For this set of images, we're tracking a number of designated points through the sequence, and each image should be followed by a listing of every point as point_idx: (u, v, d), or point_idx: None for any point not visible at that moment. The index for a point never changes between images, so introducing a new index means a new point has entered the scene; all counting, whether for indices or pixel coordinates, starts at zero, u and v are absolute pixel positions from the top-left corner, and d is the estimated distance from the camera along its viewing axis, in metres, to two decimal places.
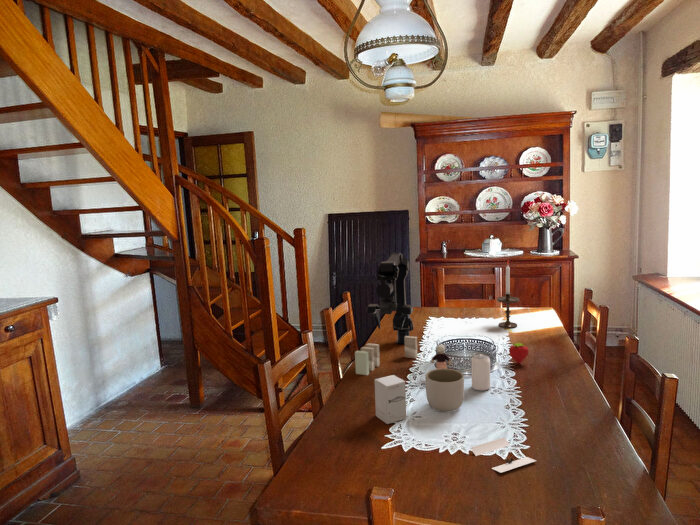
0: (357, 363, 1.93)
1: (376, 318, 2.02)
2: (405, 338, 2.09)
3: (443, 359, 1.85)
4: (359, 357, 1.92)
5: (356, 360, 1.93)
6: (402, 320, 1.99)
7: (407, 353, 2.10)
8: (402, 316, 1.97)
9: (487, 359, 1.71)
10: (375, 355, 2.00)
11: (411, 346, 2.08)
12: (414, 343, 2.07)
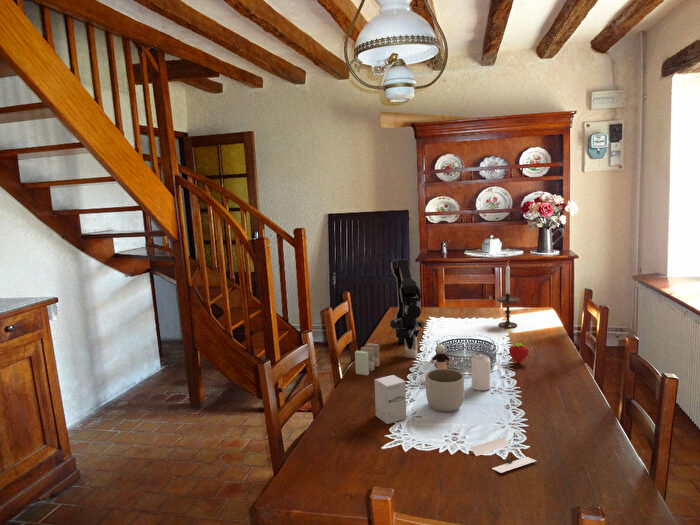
0: (357, 363, 1.93)
1: None
2: None
3: (443, 359, 1.85)
4: (359, 357, 1.92)
5: (356, 360, 1.93)
6: None
7: (407, 353, 2.10)
8: None
9: (487, 359, 1.71)
10: (375, 355, 2.00)
11: None
12: (414, 343, 2.07)
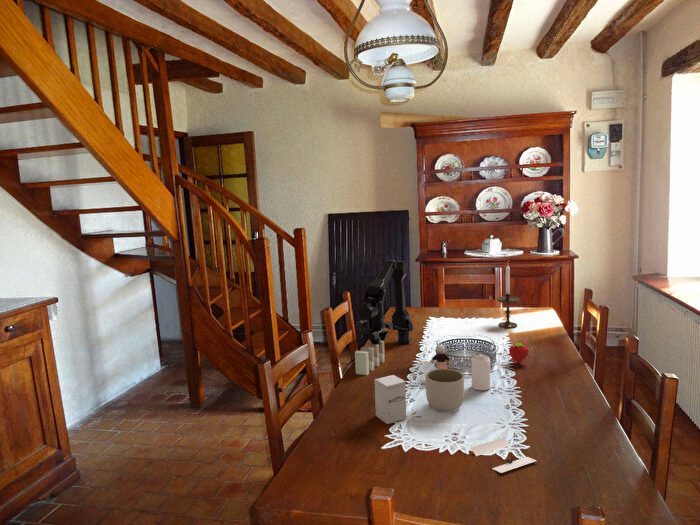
0: (357, 363, 1.93)
1: None
2: None
3: (443, 359, 1.85)
4: (359, 357, 1.92)
5: (356, 360, 1.93)
6: None
7: None
8: None
9: (487, 359, 1.71)
10: (375, 355, 2.00)
11: None
12: (381, 347, 2.04)
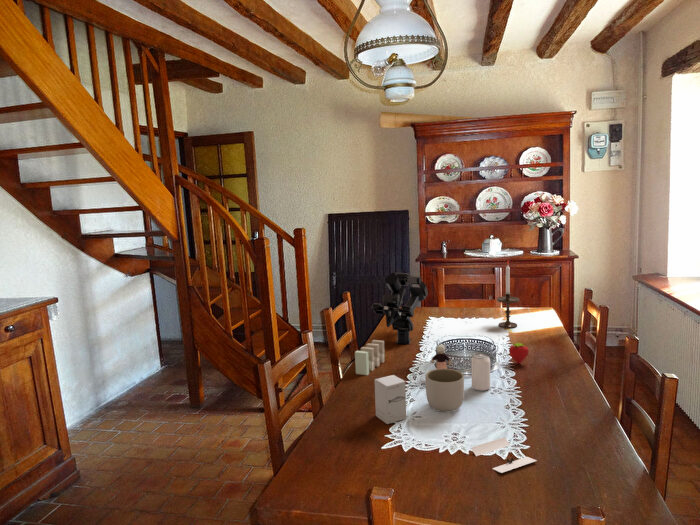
0: (357, 363, 1.93)
1: (387, 315, 2.16)
2: (372, 342, 2.06)
3: (443, 359, 1.85)
4: (359, 357, 1.92)
5: (356, 360, 1.93)
6: (391, 317, 2.15)
7: None
8: (392, 311, 2.15)
9: (487, 359, 1.71)
10: (375, 355, 2.00)
11: None
12: (381, 347, 2.04)
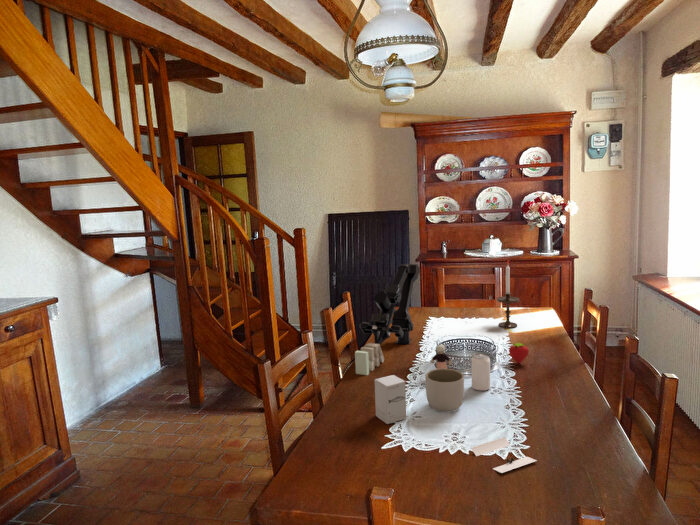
0: (357, 363, 1.93)
1: (376, 335, 2.06)
2: None
3: (443, 359, 1.85)
4: (359, 357, 1.92)
5: (356, 360, 1.93)
6: (380, 337, 2.05)
7: None
8: (381, 331, 2.05)
9: (487, 359, 1.71)
10: (374, 356, 2.00)
11: None
12: (378, 351, 2.02)
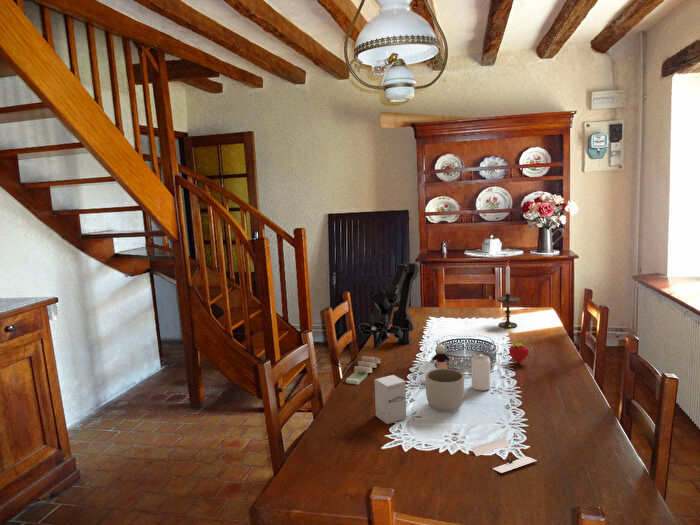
0: None
1: (375, 336, 2.05)
2: None
3: (443, 359, 1.85)
4: None
5: None
6: (379, 338, 2.04)
7: None
8: (380, 332, 2.04)
9: (487, 359, 1.71)
10: None
11: None
12: None
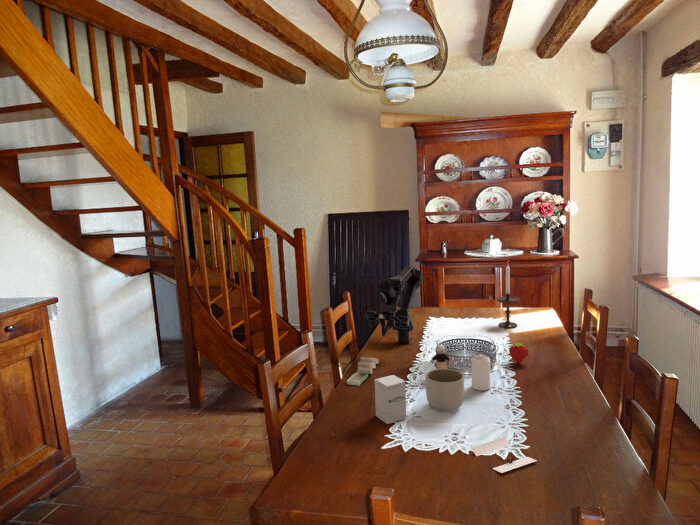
0: None
1: (383, 324, 2.10)
2: None
3: (443, 359, 1.85)
4: None
5: None
6: (387, 326, 2.10)
7: None
8: (388, 321, 2.09)
9: (487, 359, 1.71)
10: None
11: None
12: (372, 362, 1.98)
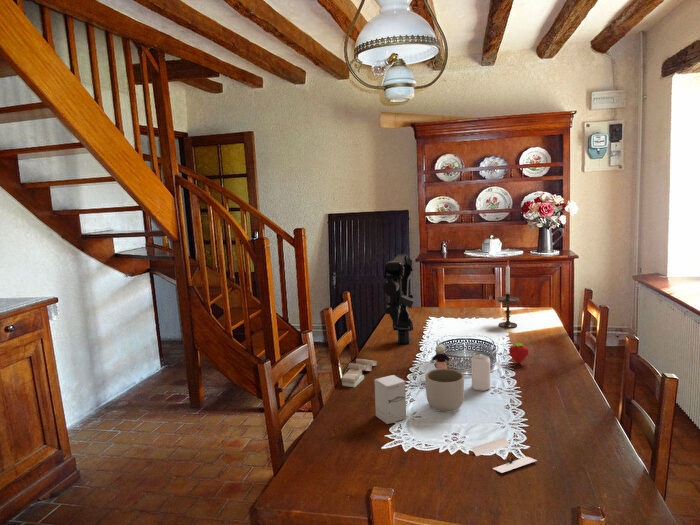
0: None
1: (398, 315, 2.12)
2: (357, 363, 1.97)
3: (443, 359, 1.85)
4: None
5: None
6: (399, 315, 2.14)
7: None
8: (401, 310, 2.14)
9: (487, 359, 1.71)
10: None
11: None
12: (368, 365, 1.97)
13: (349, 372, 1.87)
